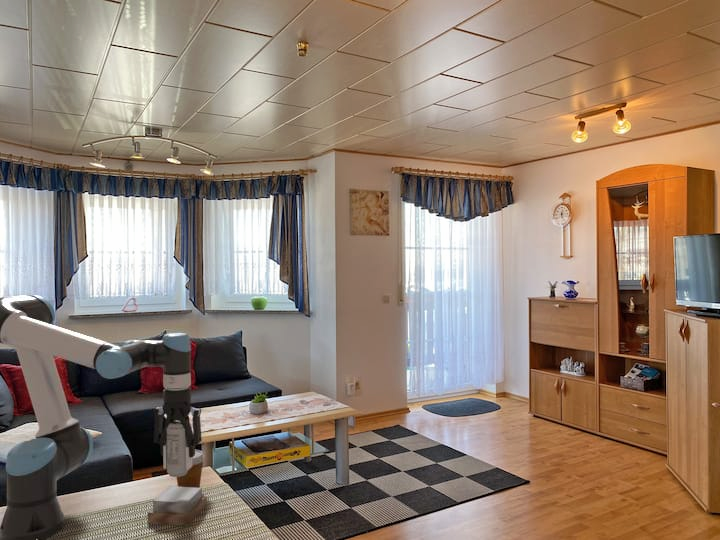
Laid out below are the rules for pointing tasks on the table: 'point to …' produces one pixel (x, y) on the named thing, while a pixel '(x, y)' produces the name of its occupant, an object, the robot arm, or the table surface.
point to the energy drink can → (176, 449)
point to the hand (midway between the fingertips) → (178, 467)
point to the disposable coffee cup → (193, 472)
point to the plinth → (177, 516)
